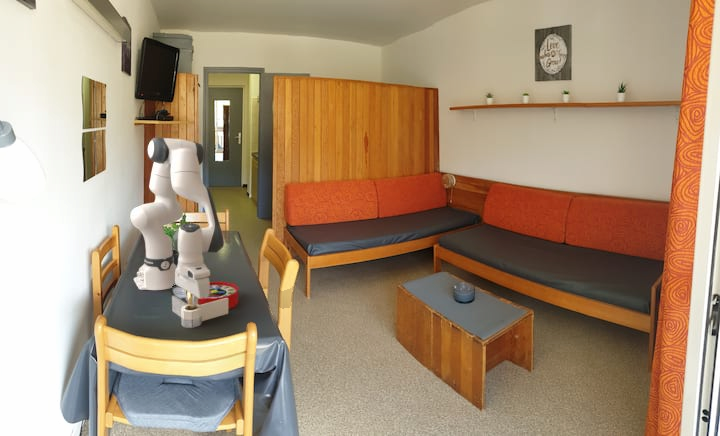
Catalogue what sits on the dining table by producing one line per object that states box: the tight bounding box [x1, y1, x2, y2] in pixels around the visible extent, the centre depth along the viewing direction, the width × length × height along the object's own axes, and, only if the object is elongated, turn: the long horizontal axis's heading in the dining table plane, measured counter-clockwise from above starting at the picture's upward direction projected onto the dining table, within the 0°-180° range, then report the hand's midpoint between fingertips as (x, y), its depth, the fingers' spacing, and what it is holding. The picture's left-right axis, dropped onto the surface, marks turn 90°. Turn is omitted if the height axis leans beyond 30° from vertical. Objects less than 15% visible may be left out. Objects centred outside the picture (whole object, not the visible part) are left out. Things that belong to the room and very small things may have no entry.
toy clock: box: [198, 281, 239, 310], centre depth 193 cm, size 20×6×20 cm
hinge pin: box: [187, 292, 196, 310], centre depth 171 cm, size 3×3×8 cm
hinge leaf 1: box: [171, 295, 203, 329], centre depth 176 cm, size 19×7×6 cm, turn 47°
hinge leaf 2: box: [180, 298, 229, 322], centre depth 176 cm, size 7×19×6 cm, turn 137°
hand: (191, 302), depth 171 cm, fingers closed on hinge pin, 3 cm apart
